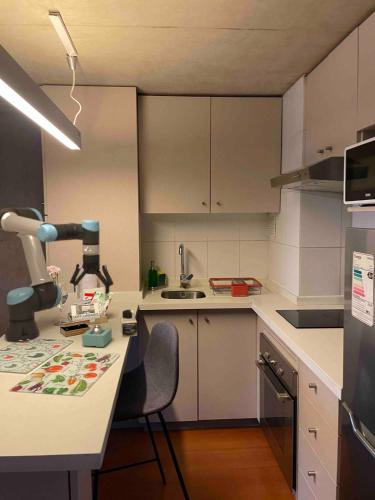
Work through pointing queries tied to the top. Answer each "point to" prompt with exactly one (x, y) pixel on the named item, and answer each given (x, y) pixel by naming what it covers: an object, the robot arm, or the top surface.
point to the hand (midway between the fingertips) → (91, 299)
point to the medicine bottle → (128, 323)
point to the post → (97, 329)
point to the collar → (96, 338)
